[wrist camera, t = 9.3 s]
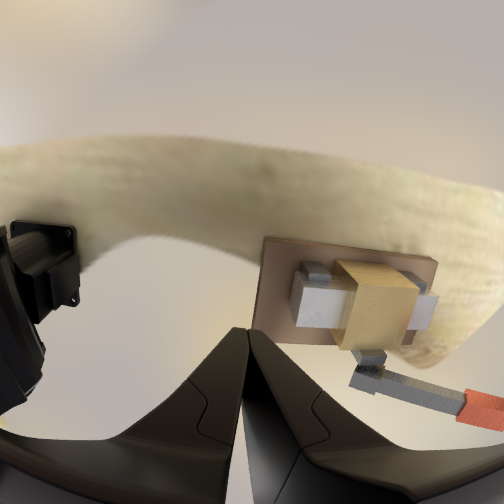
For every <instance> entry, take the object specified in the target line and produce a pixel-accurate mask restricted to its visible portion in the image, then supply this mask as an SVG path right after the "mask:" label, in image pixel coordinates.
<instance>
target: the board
mask: <svg viewBox="0 0 504 504" xmlns="http://www.w3.org/2000/svg"><path fill="white" fill-rule="evenodd" d="M335 259H339V260H349V261H358V262H367V263H376V264H385V265H390V266H392V267H393V268H394V269H396V270H399V271H409V272H413V273H414V274H415V275H417V276H418V277H420V278H421V279H422V280H424V281H425V282H426V283H428V284H427V288H428V289H430V290H431V286H432V283H433V280H434V276H435V273H436V269H437V266H438V262H437V261H435V260H434V259H432V258H429V257H421V256H414V255H406V254H399V253H391V252H383V251H376V250H368V249H360V248H352V247H344V246H336V245H328V244H319V243H311V242H303V241H294V240H286V239H277V238H268V237H265V240H264V247H263V254H262V260H261V267H260V274H259V281H258V287H257V294H256V301H255V307H254V314H253V320H252V327H251V329H255V330H261V331H263V332H264V333H265V334H266V335H267V336H268V337H269V338H270V339H271V340H272V341H273V342H274V343H288V344H311V345H337V343H336V341H335V340H334V338H333V336H332V334H331V332H330V330H329V328H313V327H296V326H295V323H294V321H293V318H292V315H291V312H290V310H289V303H290V297H291V292H292V287H293V282H294V276H295V271H298V272H299V270H300V265H301V260H303V261H313V262H321V263H322V264H323V265H324V267H325V268H326V269H327V270H328V272H329V273H330V274H331V275H332V272H333V267H334V263H335ZM415 333H416V330H406V333H405V335H404V338H403V341H402V343H401V345H411V344H412V341H413V338H414V336H415Z"/></svg>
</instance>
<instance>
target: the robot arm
mask: <svg viewBox="0 0 504 504" xmlns="http://www.w3.org/2000/svg"><path fill="white" fill-rule="evenodd" d="M15 225H16V227H17V228H15ZM68 230H70V232H71V235H69V234H68ZM10 232H11V239H10V240H8V241H7V237H6V234H7V230H6V226H5V225H3V226H0V416H1V415H2V414H3V413H5V412H6V411H8V410H9V409H11V408H13V407H15V406H17V405H20V404H22V403H24V402H26V401H27V396H29V395H30V394H31V393H32V391H33V390H34V388H35V386H36V385H37V384H38V382H39V381H40V380H41V378H42V372H41V368H42V365H43V362H44V354H45V351H46V348H45V346H44V344H43V342H41V340H40V337H39V335H38V333H37V330H36V328H35V325H34V324H39V323H40V322H41V321H42V320H43V319H44V318H45V317H46V316H47V315H48V314H49V313H50V312H51V311H52V310H57V309H58V308H59V307H60V306H61V305H66V306H70V307H76V306H77V305H78V304H79V303H80V297H79V287H80V275H79V257H78V255H77V251H76V230H75V228H74V227H73V226H71V225H62V224H52V223H42V222H31V221H21V220H15V221H13V222H11V224H10ZM72 299H74V300H75V302H73V300H72ZM240 406H242V415H243V423H244V432H245V440H246V447H247V456H248V463H249V471H250V479H251V486H252V493H253V500H254V504H504V443H503V444H499V445H494V446H488V447H481V448H471V449H456V450H427V451H416V450H410V449H406V448H402V447H400V446H398V445H396V444H394V443H393V442H391V441H389V440H388V439H386V438H385V437H384V436H382V435H380V434H379V433H378V432H376V431H375V430H373V429H372V428H371V427H369V426H368V425H366V424H365V423H363V422H362V421H361V420H359V419H358V418H357V417H355V416H354V415H353V414H351V413H350V412H349V411H347V410H346V409H345V408H344V407H342V406H341V405H340V404H339V403H338V402H336V401H335V400H334V399H333V398H332V397H331V396H330V395H329V394H328V393H326V392H325V391H323V389H322V388H321V387H320V386H319V385H318V384H317V383H316V382H315V381H313V380H312V379H311V378H310V377H309V376H308V375H307V374H306V373H305V372H304V371H303V370H302V369H301V368H300V367H299V366H298V365H297V364H296V363H294V362H293V361H292V360H291V359H290V358H289V357H288V356H287V355H286V354H285V353H284V352H283V351H282V350H281V349H280V348H279V347H278V346H277V345H276V344H275V343H274V342H273V341H272V340H271V339H270V338H269V337H268V336H267V335H266V334H265V333H264V332H263V331H261V330H255V329H248V330H246V329H245V328H237V327H233V328H232V329H231V330H230V331H229V332H228V333H227V334H226V336H225V337H224V338H223V339H222V340H221V341H220V342H219V343H218V345H217V346H216V347H215V348H214V349H213V350H212V351H211V353H210V354H209V355H208V356H207V357H206V358H205V359H204V360H203V361H202V362H201V364H200V365H199V366H198V367H197V368H196V369H195V370H194V371H193V372H192V373H191V375H190V376H189V377H188V378H187V380H185V381H184V382H183V383H182V384H181V385H180V386H179V388H177V389H176V390H175V392H174V393H173V394H171V395H170V396H169V397H168V398H167V399H166V400H165V401H163V402H162V403H161V404H160V405H159V406H157V407H156V408H155V409H153V410H152V411H151V412H149V413H148V414H147V415H145V416H144V417H143V418H141V419H140V420H139V421H137V422H136V423H134V424H133V425H132V426H130V427H129V428H128V429H126V430H125V431H123V432H122V433H120V434H119V435H116V436H115V437H112V438H109V439H105V440H52V439H38V438H31V437H25V436H20V435H17V434H14V433H11V432H8V431H6V430H3V429H1V428H0V504H225V500H226V493H227V485H228V477H229V469H230V463H231V457H232V451H233V446H234V440H235V434H236V429H237V424H238V418H239V412H240Z"/></svg>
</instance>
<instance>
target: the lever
mask: <svg viewBox="0 0 504 504" xmlns="http://www.w3.org/2000/svg"><path fill="white" fill-rule="evenodd" d="M349 387H353V388H355V389H358V390H361V391H364V392H367V393H369V394H373V395H374V394H375V392H378V393H381V394H384V395H388V396H390V397H393V398H397V399H400V400H403V401H406V402H410V403H413V404H416V405H420V406H423V407H426V408H430V409H433V410H437V411H440V412H444V413H448V414H452V415H455V416H456V421H458V422H462V423H466V424H470V425H474V426H478V427H482V428H487V429H492V430H496V431H501V432H502V431H503V430H504V398H501V397H497V396H493V395H489V394H485V393H481V392H478V391H474V390H470V389H466V390H465V392H464V393H462V392H458V391H455V390H451V389H448V388H444V387H440V386H437V385H434V384H430V383H427V382H424V381H420V380H417V379H414V378H410V377H407V376H404V375H401V374H398V373H395V372H392V371H388V370H385V366H383V365H360V366H359V364H358V365H357V367H356V369H355V371H354V373H353V376H352V378H351V381H350V384H349Z"/></svg>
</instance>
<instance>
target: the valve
mask: <svg viewBox="0 0 504 504" xmlns="http://www.w3.org/2000/svg"><path fill="white" fill-rule="evenodd" d="M427 284H428V283H426V282H425V281H424V280H422V279H421V278H420V277H418V276H417V275H415V274H414V273H413V272H409V271H399V270H396V269H394V268H393V267H392V266H390V265H385V264H376V263H367V262H358V261H349V260H339V259H335V263H334V267H333V272H332V275H331V274H330V273H329V272H328V270H327V269H326V268H325V267H324V265H323V264H322V263H321V262H313V261H303V260H301V265H300V270H299V272H298V271H295V276H294V282H293V287H292V292H291V297H290V303H289V310H290V312H291V315H292V318H293V321H294V323H295V326H296V327H313V328H329V330H330V332H331V334H332V336H333V338H334V340H335V341H336V343H337V345H338V347H339V349H340V350H351V352H352V354H353V355H354V357H355V359H356V361H357V362H358V364H359V366H360V365H384V363H385V360H386V358H387V355H386V353H385V352H384V350H397V349H400V346H401V343H402V341H403V338H404V335H405V333H406V330H427V329H428V326H429V323H430V320H431V318H432V315H433V312H434V309H435V306H436V303H437V300H438V297H439V296H437V295H436V294H435V293H433V292H432V291H431V290H430V289H428V288H427Z"/></svg>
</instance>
